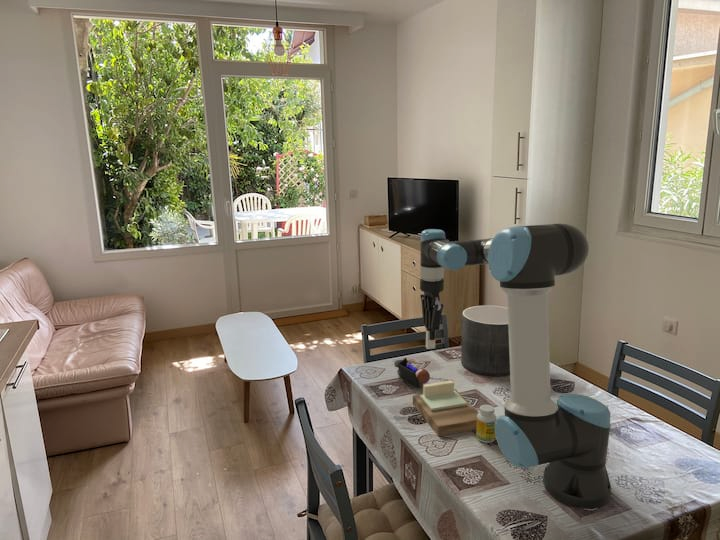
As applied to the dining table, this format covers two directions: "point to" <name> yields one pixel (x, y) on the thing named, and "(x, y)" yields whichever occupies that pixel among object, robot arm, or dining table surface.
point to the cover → (441, 396)
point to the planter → (486, 340)
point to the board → (448, 417)
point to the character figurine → (411, 373)
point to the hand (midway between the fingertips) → (430, 347)
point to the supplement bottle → (486, 424)
